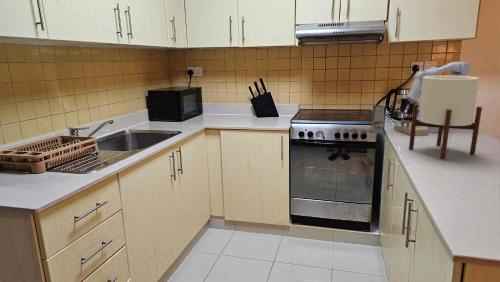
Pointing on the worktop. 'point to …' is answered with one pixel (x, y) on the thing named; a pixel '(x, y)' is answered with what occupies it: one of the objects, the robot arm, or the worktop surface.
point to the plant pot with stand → (447, 108)
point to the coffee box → (378, 119)
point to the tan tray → (408, 132)
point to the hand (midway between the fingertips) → (405, 113)
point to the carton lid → (409, 126)
